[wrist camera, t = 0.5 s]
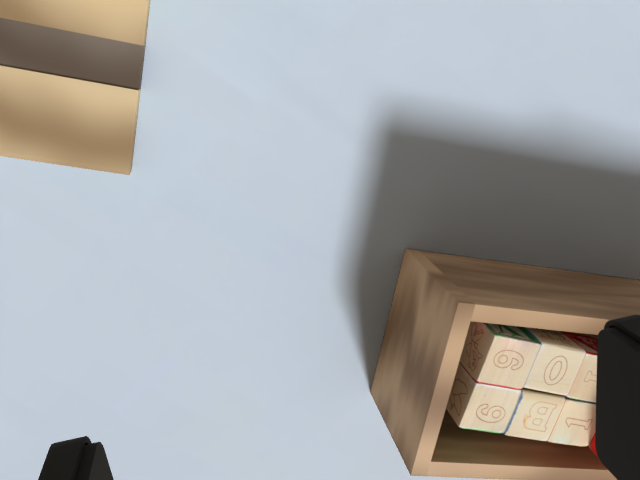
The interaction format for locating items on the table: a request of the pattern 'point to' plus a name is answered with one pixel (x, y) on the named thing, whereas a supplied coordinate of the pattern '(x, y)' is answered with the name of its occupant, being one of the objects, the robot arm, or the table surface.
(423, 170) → the table surface
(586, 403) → the stack of blocks
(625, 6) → the table surface
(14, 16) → the board
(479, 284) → the block caddy
